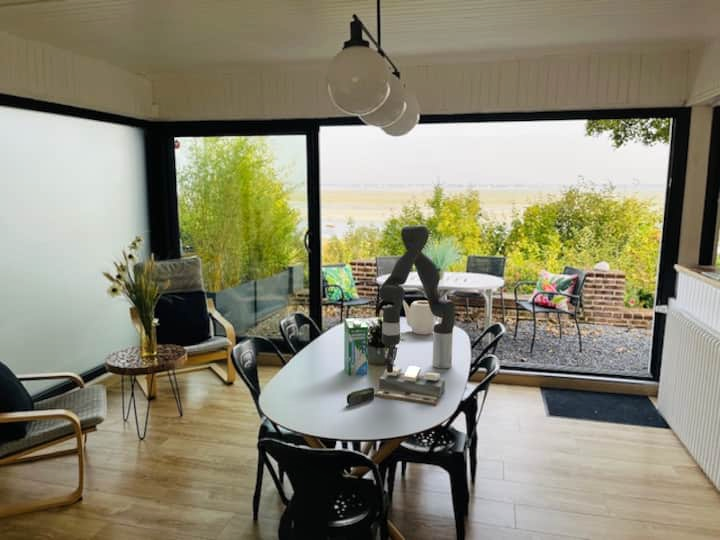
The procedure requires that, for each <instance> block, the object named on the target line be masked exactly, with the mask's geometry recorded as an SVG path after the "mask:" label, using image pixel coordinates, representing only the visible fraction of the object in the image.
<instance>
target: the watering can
mask: <svg viewBox="0 0 720 540" xmlns="http://www.w3.org/2000/svg"><path fill="white" fill-rule="evenodd" d="M402 306H403V309H404V312H405V313H404V314H405V318H406V324H407V325H408V326H409V328H411V330H412V333H415V334H417V335H423V336H424V335H431V334H432V333H433V332H434V325H436V323H437V322H436V321H437V318H438V317H437V316H434V315H433V314H432V312H431V310H430V307H429V303H428V300H414V301H413V302H412V303H411V304H410V306H409V305H408V303H407V302H406V300H405V299H404V300H403V303H402ZM441 322H442V318H440V317H439V321H438V323H437V324H440V323H441Z"/></svg>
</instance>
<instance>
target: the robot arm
mask: <svg viewBox="0 0 720 540" xmlns="http://www.w3.org/2000/svg"><path fill="white" fill-rule="evenodd" d="M400 238H401V241H402V243H403V246H404V247H405V249H406V252H405V253H403V255H401V257H399V259H398V260H397V261H396V262H395V263H394V266H393V269H392V270H391V273H390V275H389V276H388V277H387V278H386V280H385V281H384V282H383V283H382V284H381V286H380V288H379V293H378V297H379V299H380V300H381V301H384V302H389V303H393V304H392V306H386V307H384V308H383V311H382V325H381V343H382V344H383V345H385V347H384V353H383V354H382V357H383V360H384V363H385V364H386V369H387V372H390V373H391V372H392V371H393V367H394V363H395V361H396V358H397V353H398V350H399V349H398V347H397V345H399V344H400V343H401V322H400V321H401V320H400V319H401V311H402V306H403V300H404V301H405V298H406V297H405V294H406V290H405V289H404V287H403V286H402V285H405V283H406V282H407V279H408V278H409V274H410V272H411V270H412V268H413V266H414V267H415V271H416V272H417V276H418V278H419V281H420V282H421V285H422V287H423V291H424V293H425V296H426V299H427V301H428V303H429V307H430V310H431V312H432V314H433V315H434V316H437V317H436V318H439V319H440V318H442V322H441V323H440V324H438V323H437V324H436V323H435V325H434V331H433V332H432V333H433V335H432V337H433V338H432V339H433V341H432V366H433V367H434V368H437V369H449V368H452V361H453V359H452V358H453V337H454V336H453V335H454V333H453V331H454V327H455V323H456V322H455V321H456V303H455V302H454V301H453V300H451V299H446V298H442V297H441V295H440V294H439V290H438V287H439V284H440V281H441V276H440V272H439V270H438V267H437V265H436V263H435V262H434V261H433V260H432V259H431V257H429V256H428V255H426V254H425V253H424V252H423V250H424V248H425V247H426V245H427V243H428V239H429V230H428V228H427V227H426V225H424V224H423V225H422V224H418V225H406V226H404V227H403V228H402V229H401V231H400Z"/></svg>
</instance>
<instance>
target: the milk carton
mask: <svg viewBox="0 0 720 540" xmlns="http://www.w3.org/2000/svg"><path fill="white" fill-rule="evenodd" d="M343 322H344V327H343V328H344V329H343V331H344V332H343V334H344V337H343V339H344V340H343V342H344V345H343V346H344V353H343V354H344V358H343V360H344V361H343V366H344V367H343V368H344V371H345V373H346V374H347V375H348V376H349V377H350V376H358V375H359V376H361V375H368V371H369V370H368V369H369V367H368V364H369V363H368V360H369V358H368V357H369V356H368V355H369V354H368V353H369V350H368V349H369V344H368V343H369V336H368V335H369V327H368V324H367V323H366V321H365V319H364V318H363V317H355V318H354V317H351V318H344V321H343Z"/></svg>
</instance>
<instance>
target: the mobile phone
mask: <svg viewBox="0 0 720 540" xmlns="http://www.w3.org/2000/svg"><path fill="white" fill-rule="evenodd" d="M374 399H375V388H374V387H367V388H363V389H359V390H355V391H351V392H350V393H348V394H347V396H346V403H347V405H346V406H345V407H346V408H349V407H352V406H355V405H358V404H361V403H366V402H368V401H372V400H374Z"/></svg>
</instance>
